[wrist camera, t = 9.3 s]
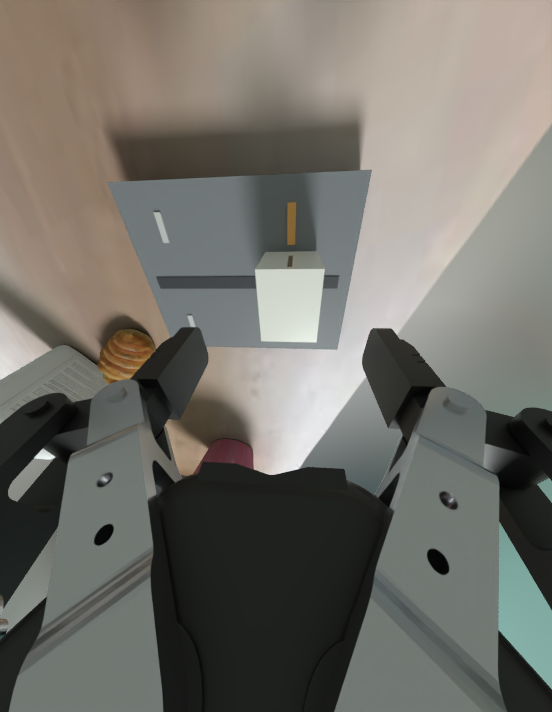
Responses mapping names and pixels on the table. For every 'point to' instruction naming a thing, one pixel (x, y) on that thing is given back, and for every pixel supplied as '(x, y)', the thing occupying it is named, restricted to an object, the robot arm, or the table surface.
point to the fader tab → (289, 295)
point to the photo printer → (50, 382)
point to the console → (241, 245)
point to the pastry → (124, 354)
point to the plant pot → (228, 453)
